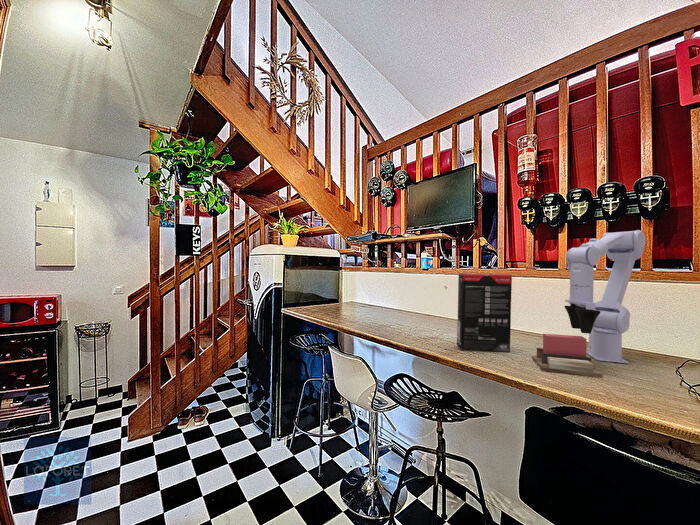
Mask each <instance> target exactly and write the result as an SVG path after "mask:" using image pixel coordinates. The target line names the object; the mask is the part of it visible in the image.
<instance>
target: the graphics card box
mask: <svg viewBox="0 0 700 525" xmlns="http://www.w3.org/2000/svg"><path fill="white" fill-rule="evenodd" d="M512 282H513V276H512V274H511V273H510V274H509V273H507V274H503V273H501V274H500V273H458V286H457V287H458V288H457V292H458V293H457V324H456V325H457V331H456V345H457V346H458V347H459V349H461V350H462V351H463V350H467V351H480V352H481V351H484V352H487V351H488V352H502V353H510V352H511V331H512V330H511V328H512V327H511V321H512V320H511V319H512V318H511V317H512V316H511V315H512V313H511V312H512Z"/></svg>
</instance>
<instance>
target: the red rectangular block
mask: <svg viewBox="0 0 700 525" xmlns="http://www.w3.org/2000/svg"><path fill="white" fill-rule="evenodd" d="M542 344H543V345H542V348H543V353H550V354H561V355H572V356H582V357H588V354H587V351H588V350H587V348H588V347H587V344H588V343H587V338H586V337H584V336H582V335H570V334H568V335H567V334H558V333H557V334H556V333H542Z"/></svg>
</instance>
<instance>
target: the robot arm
mask: <svg viewBox="0 0 700 525" xmlns="http://www.w3.org/2000/svg"><path fill="white" fill-rule="evenodd" d="M645 247H646V237H645V234H644V232H643V231H642V230H640V229H637V230H630V231H629V230H628V231H616V232H605V233H603V234H602V237H601V238H600V239H598V238H590V239H589V241H588V242H586V243H582V244H581V245H579V247H571V248H570V249H568V250H567V252H566V254H565V261H566V264H567V270H568V271H569V298H568V299H565V300H564V302H565V303H568V305H564V308H565V311H566V313H567V315H568V319H569V321H570V327H571V328H572V329H575V330H576V329H577V330H580V332H581V334H588V350H587V355H588V356H590V357H591V358H593V359H595V361H601V362H609V363H610V362H611V363H621V364H629V361H628V360H625V359H624V358H623V354H622V352H623V351H622V350H623V348H622V347H623V346H622V344H623V338H622V337H623V336H622V334H624V333H626V332H627V331H628V330H629V329H630V324H631V323H630V318H631V313H630V311H629V310H628V308H626V307H625V306H624V305H622V304H623V301H624V298H625V294H626V291H627V288H628V284H629V282H630V278H631V275H632V271H633V270H634V269H633V268H634V267H635V266H634V265H635V263H636V262H635V261H637V260H639V259H640V258H642V255H643V253H644V250H645ZM605 255H606V257H607V258H608V259H610V260H612V261H613V265H612V268H611V271H610V275H609V277H608V280H607V283H606V287H605V290H604V292H603V295H602V298H601V300H599V301H596V302H595V301H594V270H595V269H594V266H596V265H597V264H598V262H599V260H600V258H602V257H603V256H605Z"/></svg>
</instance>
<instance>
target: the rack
mask: <svg viewBox="0 0 700 525" xmlns="http://www.w3.org/2000/svg"><path fill="white" fill-rule="evenodd" d="M531 357H532V358H531V359H532V361H533V362H534V361H535V362H536V363H537V364H536V363H535V362H534V363H535V364H536V365H537V366H539V367H540V368H539V367H538V368H539V369H540V370H541V371H542V372H546V373H555V374H563V375H574V376H575V375H576V376H580V377H581V376H582V377H583V376H584V377H591V378H593V377H594V378H601V379H602V378H604V376H603V375H604V374H603V373H601V371H599V370H598V369H597V368H595V367H594V364H593V362H592V356H590V357H589V356H587V357H582V356H572V355H561V354H550V353H543V347H536V355H531Z"/></svg>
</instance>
